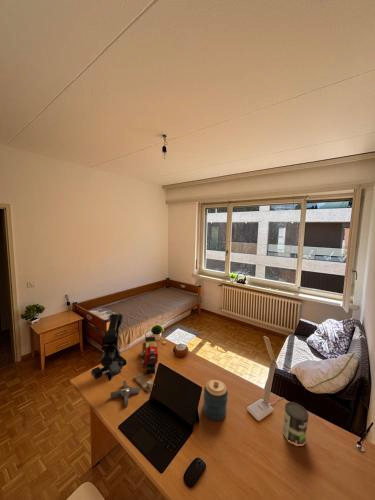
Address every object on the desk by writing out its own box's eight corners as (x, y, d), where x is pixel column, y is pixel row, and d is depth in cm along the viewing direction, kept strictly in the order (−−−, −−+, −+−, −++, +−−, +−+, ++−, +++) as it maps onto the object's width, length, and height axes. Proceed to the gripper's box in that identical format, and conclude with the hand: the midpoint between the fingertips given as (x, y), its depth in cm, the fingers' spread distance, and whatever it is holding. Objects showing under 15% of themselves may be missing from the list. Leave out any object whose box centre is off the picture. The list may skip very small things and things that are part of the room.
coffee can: (310, 441, 100) (313, 414, 99) (296, 451, 96) (299, 423, 94) (291, 423, 109) (293, 399, 108) (277, 431, 105) (280, 405, 103)
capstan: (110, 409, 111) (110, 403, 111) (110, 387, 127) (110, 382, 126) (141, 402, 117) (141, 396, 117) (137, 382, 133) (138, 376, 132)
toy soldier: (141, 379, 137) (140, 350, 166) (159, 377, 140) (155, 349, 169) (141, 360, 135) (140, 334, 163) (160, 358, 138) (155, 333, 166)
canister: (198, 410, 114) (199, 380, 113) (211, 397, 124) (213, 369, 122) (217, 426, 105) (219, 394, 104) (230, 411, 115) (233, 381, 113)
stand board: (133, 379, 135) (133, 373, 135) (141, 375, 139) (141, 369, 139) (148, 393, 124) (148, 387, 124) (155, 388, 129) (156, 382, 128)
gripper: (99, 369, 106) (99, 397, 107) (131, 355, 119) (131, 380, 121) (90, 359, 113) (90, 386, 115) (122, 346, 127) (121, 370, 128)
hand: (109, 380), depth 119 cm, fingers closed
